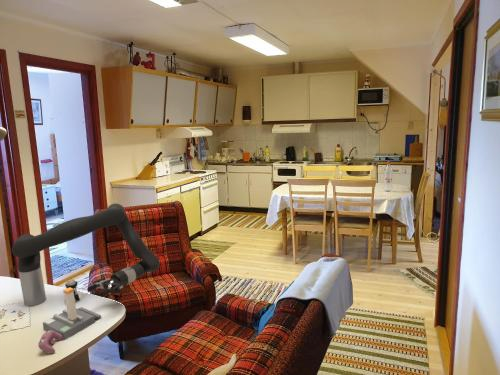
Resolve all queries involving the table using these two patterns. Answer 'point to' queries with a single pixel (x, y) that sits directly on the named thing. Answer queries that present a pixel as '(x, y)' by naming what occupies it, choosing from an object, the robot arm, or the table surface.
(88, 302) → the table surface
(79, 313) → the breaker panel
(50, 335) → the video game controller
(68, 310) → the breaker lever
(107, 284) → the robot arm
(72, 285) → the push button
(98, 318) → the grey long flat bar
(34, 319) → the table surface
